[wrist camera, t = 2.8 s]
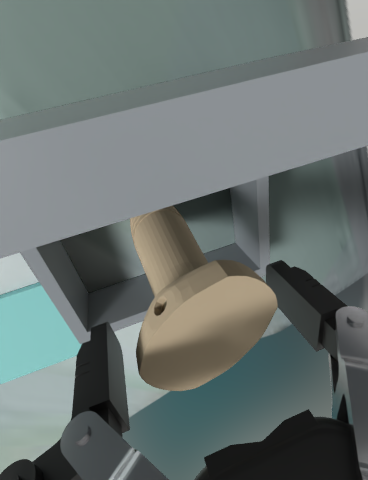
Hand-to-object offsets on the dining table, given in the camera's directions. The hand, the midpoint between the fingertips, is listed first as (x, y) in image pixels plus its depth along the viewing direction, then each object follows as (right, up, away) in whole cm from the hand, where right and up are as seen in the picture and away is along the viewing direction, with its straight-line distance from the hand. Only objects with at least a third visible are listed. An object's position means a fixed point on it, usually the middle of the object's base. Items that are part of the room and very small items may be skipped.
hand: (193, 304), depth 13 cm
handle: (-4, +6, +11) cm, 13 cm away
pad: (-16, -6, +13) cm, 22 cm away
